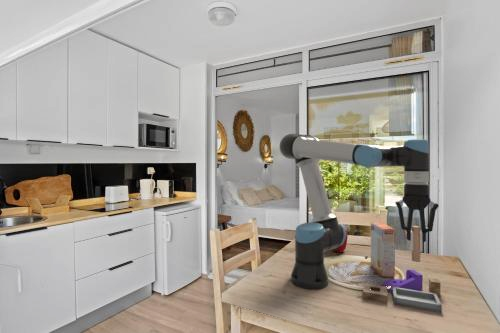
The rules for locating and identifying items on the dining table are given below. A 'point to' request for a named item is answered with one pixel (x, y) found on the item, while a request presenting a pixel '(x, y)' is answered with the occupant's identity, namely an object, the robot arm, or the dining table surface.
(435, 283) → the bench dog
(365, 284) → the dowel block
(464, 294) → the dining table surface
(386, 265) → the cracker box
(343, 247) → the apple
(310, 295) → the dining table surface
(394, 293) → the tray
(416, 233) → the dowel
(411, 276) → the bracket
